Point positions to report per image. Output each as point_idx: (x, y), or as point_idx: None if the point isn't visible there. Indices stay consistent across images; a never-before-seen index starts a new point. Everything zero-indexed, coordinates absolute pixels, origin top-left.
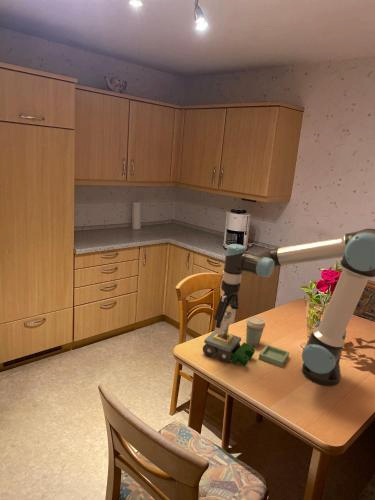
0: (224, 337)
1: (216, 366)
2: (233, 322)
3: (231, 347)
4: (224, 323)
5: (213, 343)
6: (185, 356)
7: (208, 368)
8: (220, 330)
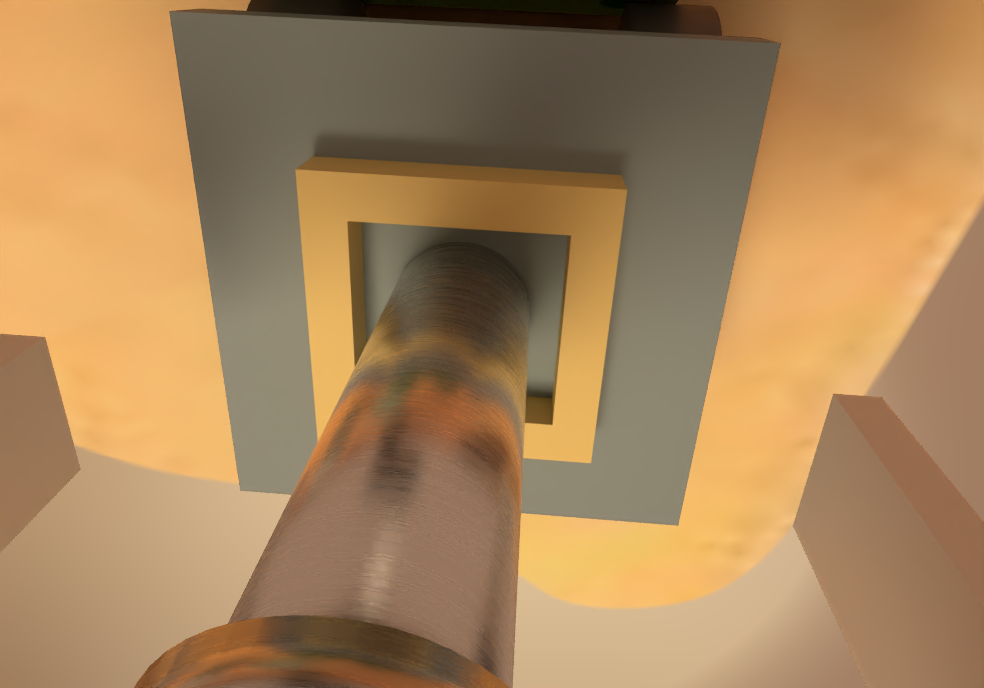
0: (518, 298)
1: (808, 157)
2: (18, 349)
3: (696, 53)
4: (518, 545)
5: (704, 385)
6: (761, 511)
7: (900, 227)
8: (940, 497)
